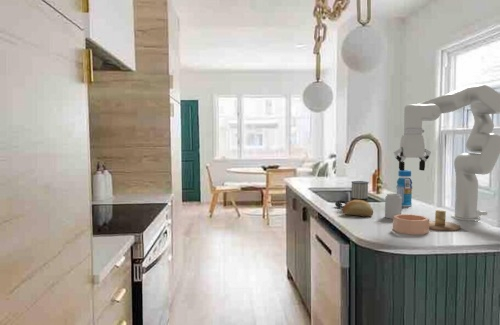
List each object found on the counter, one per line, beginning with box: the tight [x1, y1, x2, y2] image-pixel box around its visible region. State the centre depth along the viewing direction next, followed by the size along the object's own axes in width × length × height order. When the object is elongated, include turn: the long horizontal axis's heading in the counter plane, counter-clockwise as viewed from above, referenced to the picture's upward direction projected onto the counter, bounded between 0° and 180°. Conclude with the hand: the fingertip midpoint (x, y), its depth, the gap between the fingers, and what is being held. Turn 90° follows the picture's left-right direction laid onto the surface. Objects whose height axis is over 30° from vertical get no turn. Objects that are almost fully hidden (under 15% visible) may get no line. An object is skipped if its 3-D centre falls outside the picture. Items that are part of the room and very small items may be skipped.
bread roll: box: [341, 199, 374, 218], centre depth 209 cm, size 10×15×8 cm, turn 76°
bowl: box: [392, 213, 430, 235], centre depth 174 cm, size 13×13×6 cm
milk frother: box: [334, 180, 369, 209], centre depth 229 cm, size 14×16×15 cm
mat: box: [429, 227, 469, 233], centre depth 182 cm, size 16×17×1 cm
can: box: [384, 192, 403, 220], centre depth 201 cm, size 8×8×12 cm
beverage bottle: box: [396, 169, 413, 208], centre depth 238 cm, size 8×8×20 cm
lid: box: [429, 209, 462, 231], centre depth 181 cm, size 16×16×7 cm
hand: (411, 170), depth 188 cm, fingers open, 9 cm apart
